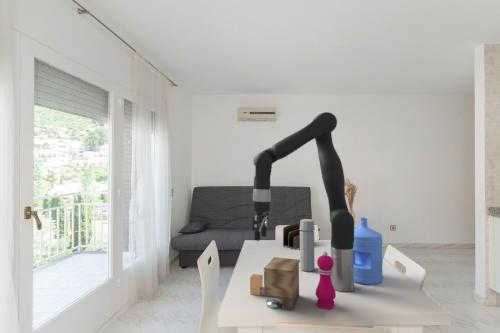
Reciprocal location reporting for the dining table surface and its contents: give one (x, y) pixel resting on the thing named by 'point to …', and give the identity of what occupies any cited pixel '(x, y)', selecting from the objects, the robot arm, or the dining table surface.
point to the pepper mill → (325, 282)
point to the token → (273, 303)
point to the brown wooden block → (282, 280)
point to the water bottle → (307, 245)
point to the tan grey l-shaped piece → (258, 286)
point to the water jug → (367, 255)
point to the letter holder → (291, 236)
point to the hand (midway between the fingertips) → (260, 238)
